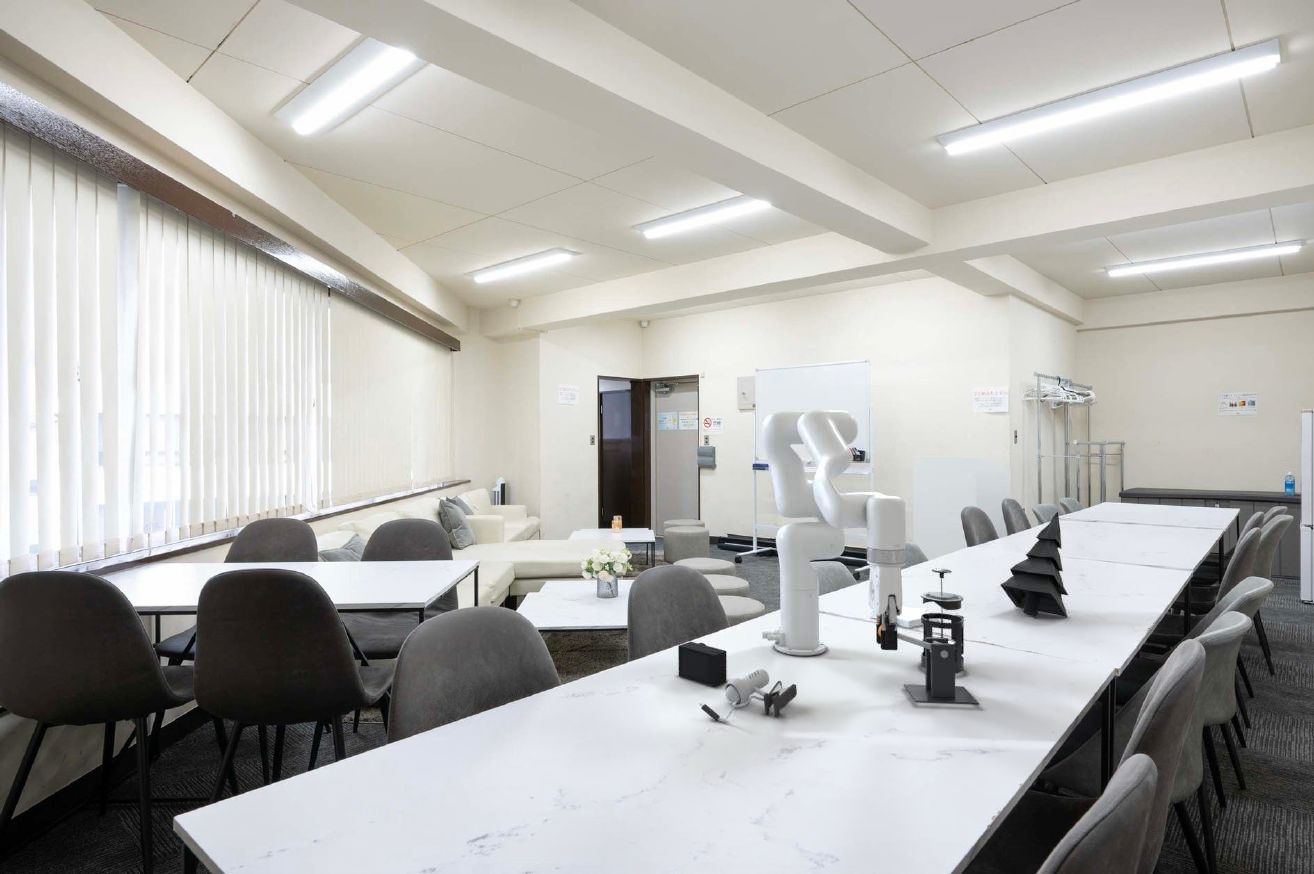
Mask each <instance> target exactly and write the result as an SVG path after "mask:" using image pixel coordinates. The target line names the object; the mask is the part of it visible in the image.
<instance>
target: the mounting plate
mask: <svg viewBox="0 0 1314 874" xmlns="http://www.w3.org/2000/svg"><path fill="white" fill-rule="evenodd" d="M926 613H931V612H929V611H928V609H927V608H924V607H908V606H905V605H902V614H901V615H900V616H897V626H901V627H904V628H908V629H911V628H915V627H918V626H923V624H922V623H921V615H922V614H926ZM871 619H875V620H876V619H877V614H876V613H875V612H874V611H873V610H871ZM929 620H930V621H934V622H939V619H929Z"/></svg>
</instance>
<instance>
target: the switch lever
mask: <svg viewBox="0 0 1314 874" xmlns="http://www.w3.org/2000/svg"><path fill="white" fill-rule="evenodd" d="M880 629H882V625H881V626H880V627H879V629H878V633H879V635H880V637H881V630H880ZM897 636H898V640H901V641H903V642H907V643H910V644H913V645H916V646H918V647H922V648H923V649H924V648H927V649H930V652H931V644H930V643H927V642H924V641H922V640H921V639H918V638H916V637H912V636H909V635H906V634H903V633H900V632H898V631H897ZM933 643H940V642H937V641H933Z"/></svg>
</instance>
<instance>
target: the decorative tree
mask: <svg viewBox="0 0 1314 874" xmlns="http://www.w3.org/2000/svg"><path fill="white" fill-rule="evenodd" d="M1061 535H1062V534H1061V526H1060V516H1059V512H1058V511H1057V512H1055V514H1054V516H1053V517H1052V518H1051V520H1050V521H1049V523H1048V524H1047V525H1046V526H1045V527H1044V528H1043V529H1041V530H1040V531H1039V533H1038V534H1037V536H1035V537H1036V539H1037V541H1036V542H1035V543H1034V545H1033V546H1032V548H1030V550H1029V551H1027V553H1026V554H1025V556H1026V557H1027V558H1026V559H1024V560H1022V561H1019V562H1018V563H1015V564H1014V565H1013V566H1012V567H1011V568H1010V569H1009V571H1010V573H1011V575H1012V576H1010V577H1009V578H1008V579H1007V580H1006V581H1004V582H1003V583H1001V584H1000V585H999V586H1000V587H1001V588H1002V589H1003V591H1004V593H1005V594H1006V595H1007V597H1008V599H1010V601H1011V602H1012V603H1013V605H1014V606H1015V608H1017V609H1021V610H1023V611H1022V613H1023V614H1025V615H1027V616H1028V617H1034V618H1035V617H1037V616H1038V613H1044V614H1049V615H1056V616H1058V617H1059V616H1060V617H1064V618H1068V614H1067V608H1066V606H1065V604H1064V602H1063V598H1062V595H1064V596H1069V593H1068V592H1067V590H1066V588H1065V586H1064V581H1063V578H1062V575H1061V573H1060V572H1064V570H1063V565H1062V559H1061V558H1062V557H1061V554H1060V551H1059V549H1060V550H1062V549H1063V548H1062V536H1061Z"/></svg>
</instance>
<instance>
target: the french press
mask: <svg viewBox="0 0 1314 874" xmlns="http://www.w3.org/2000/svg"><path fill="white" fill-rule="evenodd" d="M931 572H933V573H936V574H937V573H938V575H939V579H940V591H928V592H922V593H921V594H920V597H921V598H922V604H923V605H924V604H926V603H935V605H937V606H938V607H940V612H930V613H926V614H922V615H921V623H922V624H923V625H922V627H923V632H922V634H923V639H922V640H921V641H924V642H925V637H934V636H933V634H934V633H933V629H934V628H935V629H940V636H936V637H937V638H945V637H944V630H950V638H948V637H947V638H948V639H949V643H950V644H954V645H955V674H960V673H962V672H963V671H964V670H965V666H964V665H965V663H964V662H965V660H964V659H965V658H964V657H963V655H964V654H965V644H964V643H965V641H964V640H965V639H964V638H965V637H964V635H965V633H964V631H965V630H964V628H965V625H964V620H965V619H964V616H963V615H960V614H951V613H945V612H944V610H945V611H958V610H960V609H962V602H963V601H964V597H963V596H962V595H959V594H955V593H950V592H943V591H944V590H943V589H944V587H943V585H944V584H943V583H944V582H943V581H944V579H945V574H951V573H953V572H952V570H951V569H948V568H933V569H931ZM929 619H938V620H940V621H936V622H934V621H930V620H929ZM944 620H948V621H950V622H944ZM920 666H921V667H922V668H923V669H925V648H924V647H923V651H922V652H920Z"/></svg>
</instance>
